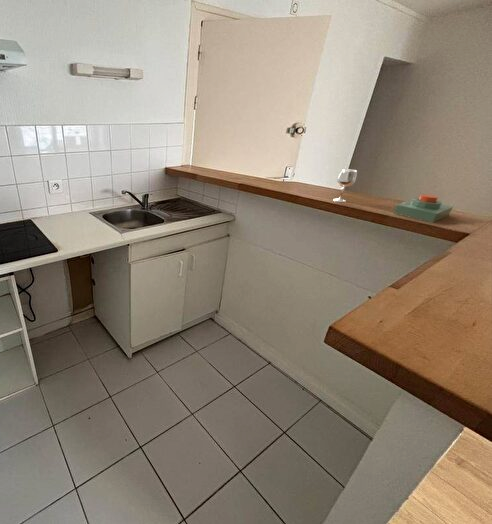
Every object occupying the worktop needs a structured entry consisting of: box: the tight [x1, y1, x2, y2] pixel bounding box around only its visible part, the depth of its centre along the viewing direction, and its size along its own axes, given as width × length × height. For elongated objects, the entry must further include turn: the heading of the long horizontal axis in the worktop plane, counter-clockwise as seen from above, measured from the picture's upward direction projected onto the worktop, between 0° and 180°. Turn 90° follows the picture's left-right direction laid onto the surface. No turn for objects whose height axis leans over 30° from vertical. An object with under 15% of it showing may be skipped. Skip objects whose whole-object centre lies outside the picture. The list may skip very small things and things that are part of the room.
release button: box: [418, 193, 439, 203], centre depth 97 cm, size 4×4×2 cm
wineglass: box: [333, 168, 358, 203], centre depth 112 cm, size 6×6×12 cm
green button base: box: [392, 197, 454, 223], centre depth 98 cm, size 14×11×5 cm
